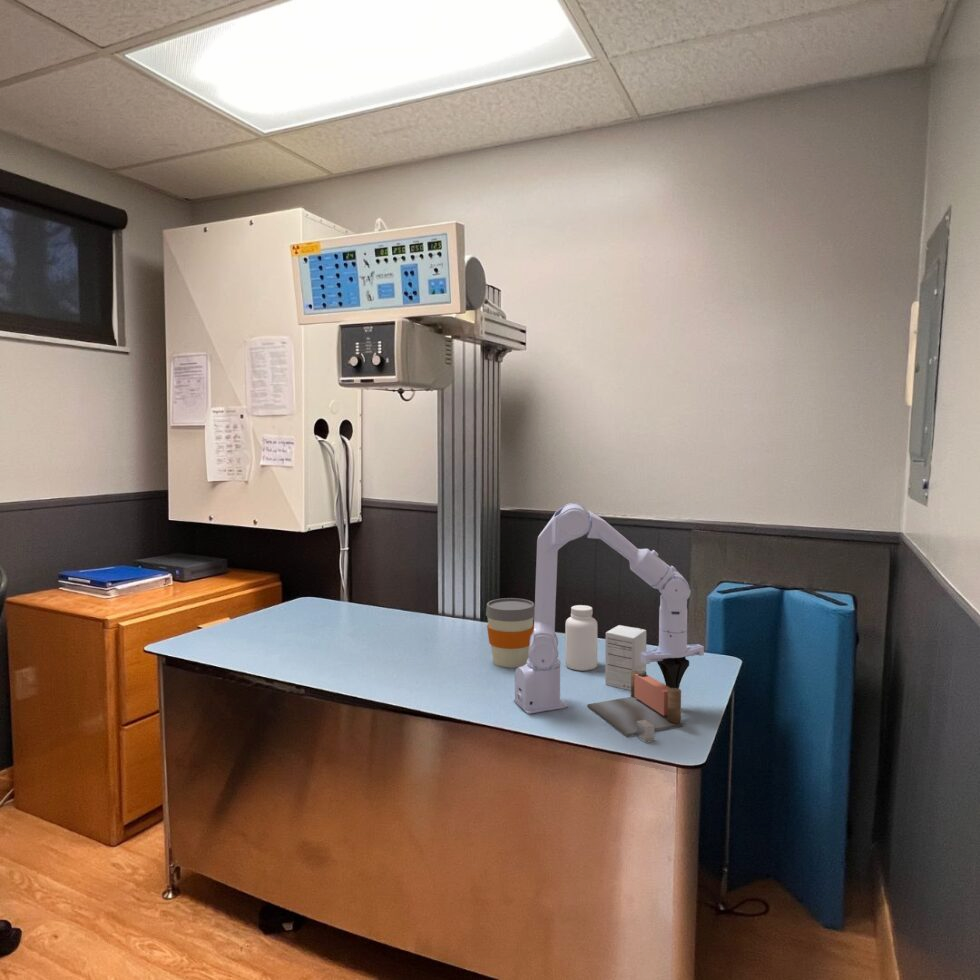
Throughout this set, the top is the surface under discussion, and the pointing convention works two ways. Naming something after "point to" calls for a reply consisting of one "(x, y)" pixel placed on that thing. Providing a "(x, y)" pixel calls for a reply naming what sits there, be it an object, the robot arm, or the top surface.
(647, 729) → the block
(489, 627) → the reusable coffee cup
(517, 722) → the top surface
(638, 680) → the rail
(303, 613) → the top surface
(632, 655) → the supplement box
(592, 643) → the pill bottle
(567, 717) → the top surface
